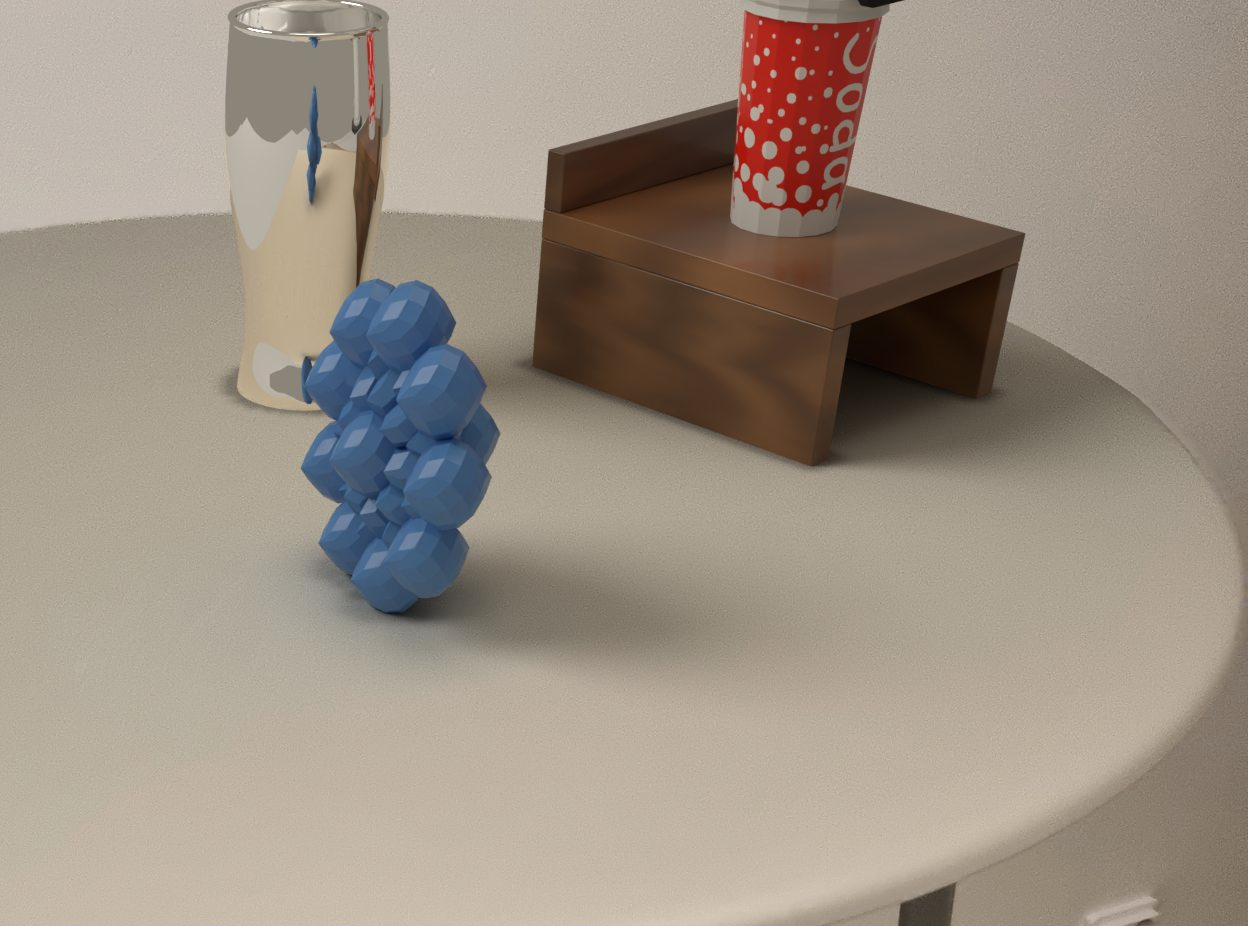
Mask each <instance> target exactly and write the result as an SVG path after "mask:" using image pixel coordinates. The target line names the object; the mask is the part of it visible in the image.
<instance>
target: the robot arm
mask: <svg viewBox="0 0 1248 926" xmlns="http://www.w3.org/2000/svg"><path fill="white" fill-rule="evenodd" d="M858 1H859V4H860V5H861V6H865V7H870V8H876V7H880V6H884V5H888V4H889V5H891V4H895V3H899V2H903V1H905V0H858Z"/></svg>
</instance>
